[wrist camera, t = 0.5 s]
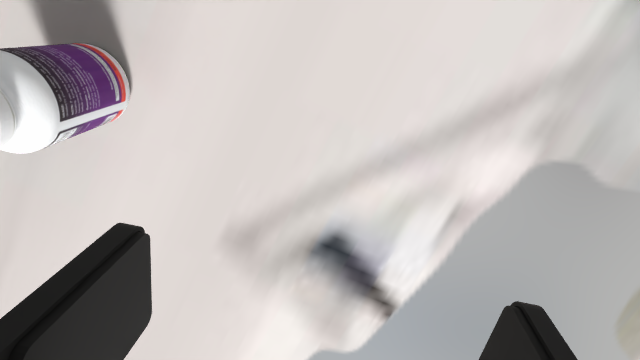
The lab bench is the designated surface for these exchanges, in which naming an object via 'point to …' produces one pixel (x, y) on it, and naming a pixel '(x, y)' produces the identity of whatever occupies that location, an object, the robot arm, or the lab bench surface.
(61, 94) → the pill bottle
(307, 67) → the lab bench surface
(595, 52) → the lab bench surface
